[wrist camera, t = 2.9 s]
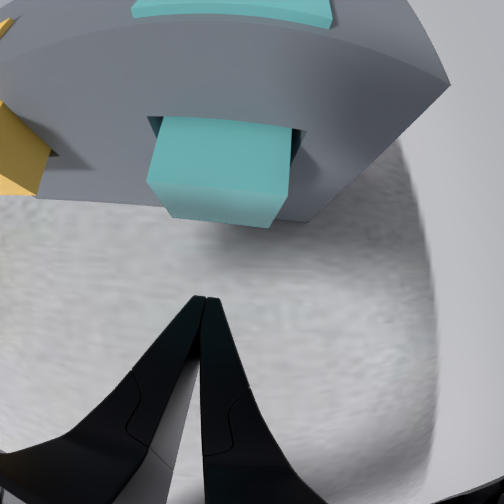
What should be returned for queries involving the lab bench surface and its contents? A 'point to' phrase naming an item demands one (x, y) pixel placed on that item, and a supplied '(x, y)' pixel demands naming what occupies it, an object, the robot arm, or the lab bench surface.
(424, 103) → the button panel
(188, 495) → the lab bench surface
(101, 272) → the lab bench surface
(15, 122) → the amber button
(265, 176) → the teal button
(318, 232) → the lab bench surface
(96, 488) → the robot arm
